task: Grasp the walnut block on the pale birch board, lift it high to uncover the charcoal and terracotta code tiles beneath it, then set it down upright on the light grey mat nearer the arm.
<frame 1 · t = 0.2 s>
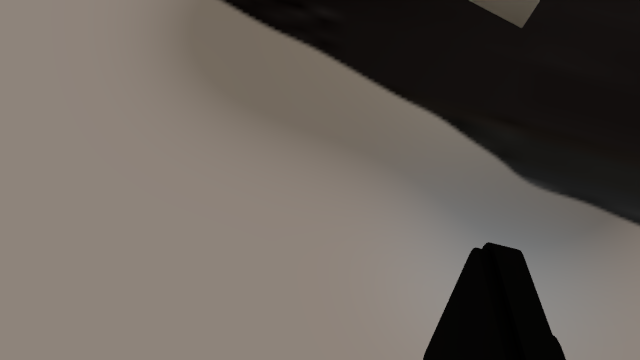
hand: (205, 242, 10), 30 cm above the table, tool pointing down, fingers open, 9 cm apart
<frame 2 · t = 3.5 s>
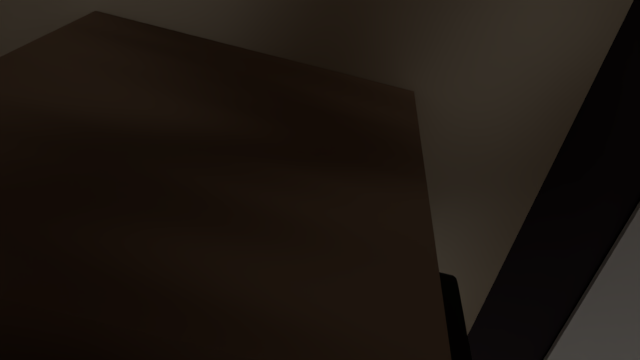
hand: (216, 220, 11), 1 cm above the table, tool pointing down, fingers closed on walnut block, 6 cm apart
walnut block: (232, 188, 12), resting on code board, touching gripper
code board: (233, 184, 12), on the table
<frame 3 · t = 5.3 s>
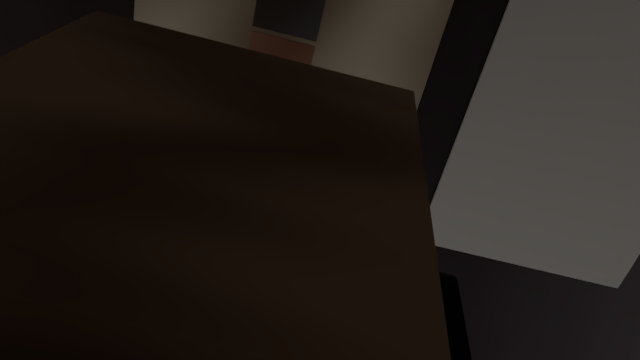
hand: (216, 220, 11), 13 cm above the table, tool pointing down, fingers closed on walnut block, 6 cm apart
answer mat: (583, 133, 23), on the table
walnut block: (232, 187, 12), point 12 cm above the table, touching gripper
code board: (284, 35, 22), on the table
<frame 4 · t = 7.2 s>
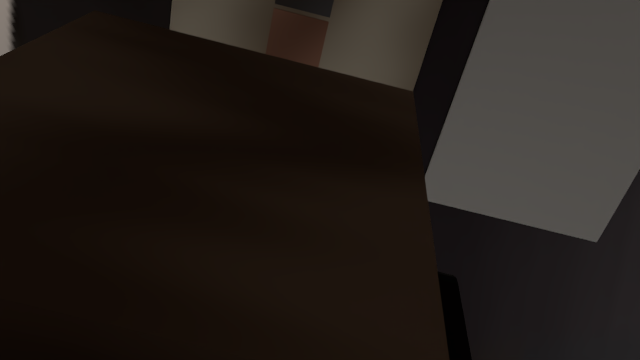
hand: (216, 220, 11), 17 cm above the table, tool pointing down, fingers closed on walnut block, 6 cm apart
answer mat: (563, 100, 27), on the table
walnut block: (231, 188, 12), point 16 cm above the table, touching gripper
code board: (302, 12, 26), on the table
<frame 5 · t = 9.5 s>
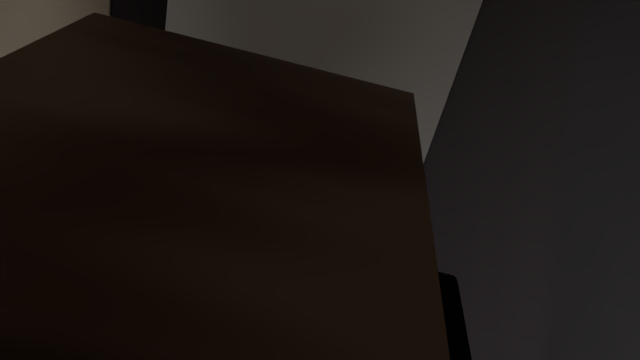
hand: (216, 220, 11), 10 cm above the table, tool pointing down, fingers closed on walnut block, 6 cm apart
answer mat: (306, 62, 19), on the table
walnut block: (231, 190, 12), point 9 cm above the table, touching gripper
when the fingers open (3 cm above the table, at t = 11.3 s): walnut block drops 1 cm, resting on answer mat.
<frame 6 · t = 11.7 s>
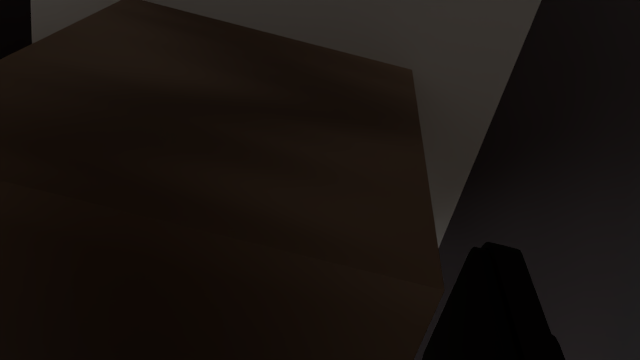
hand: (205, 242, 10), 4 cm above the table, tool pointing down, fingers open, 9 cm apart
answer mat: (247, 155, 13), on the table
walnut block: (247, 159, 13), resting on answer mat
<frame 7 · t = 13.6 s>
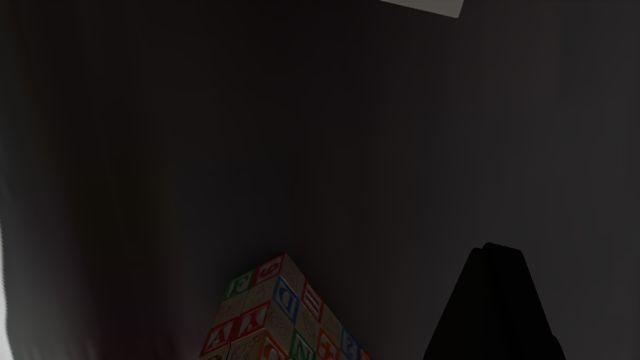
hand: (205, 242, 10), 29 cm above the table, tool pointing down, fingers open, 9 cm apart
stack of blocks: (324, 345, 52), on the table
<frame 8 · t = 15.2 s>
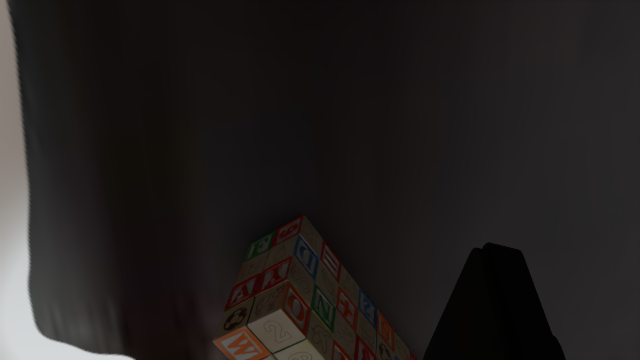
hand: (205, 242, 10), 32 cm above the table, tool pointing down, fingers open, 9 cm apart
stack of blocks: (341, 307, 53), on the table
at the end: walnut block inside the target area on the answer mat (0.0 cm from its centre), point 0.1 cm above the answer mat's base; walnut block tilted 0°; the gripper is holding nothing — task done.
